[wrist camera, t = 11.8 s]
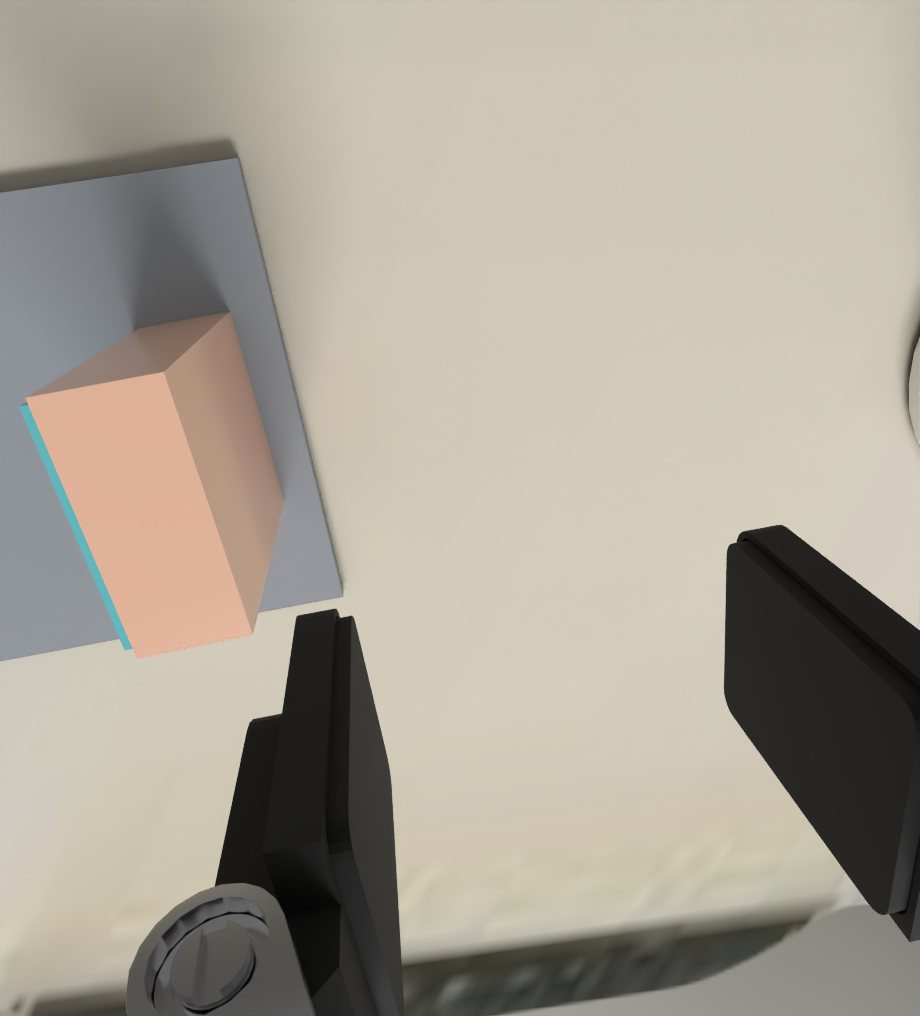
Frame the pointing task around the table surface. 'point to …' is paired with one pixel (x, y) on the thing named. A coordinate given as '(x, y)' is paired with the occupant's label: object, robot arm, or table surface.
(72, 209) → the mat
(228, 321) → the salmon orange block
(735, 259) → the table surface
